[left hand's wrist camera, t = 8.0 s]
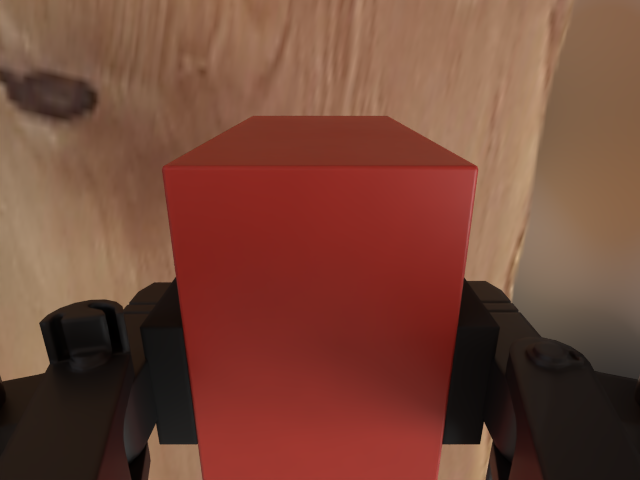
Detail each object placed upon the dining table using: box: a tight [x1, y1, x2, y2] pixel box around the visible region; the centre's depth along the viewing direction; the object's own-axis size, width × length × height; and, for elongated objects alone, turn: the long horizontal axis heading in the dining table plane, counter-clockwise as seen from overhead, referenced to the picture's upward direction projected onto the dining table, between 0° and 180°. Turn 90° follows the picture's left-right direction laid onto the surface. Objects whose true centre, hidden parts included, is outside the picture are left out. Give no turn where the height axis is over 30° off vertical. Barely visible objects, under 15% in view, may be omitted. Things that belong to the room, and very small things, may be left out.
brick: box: [162, 116, 478, 480], centre depth 12 cm, size 8×5×9 cm, turn 0°
